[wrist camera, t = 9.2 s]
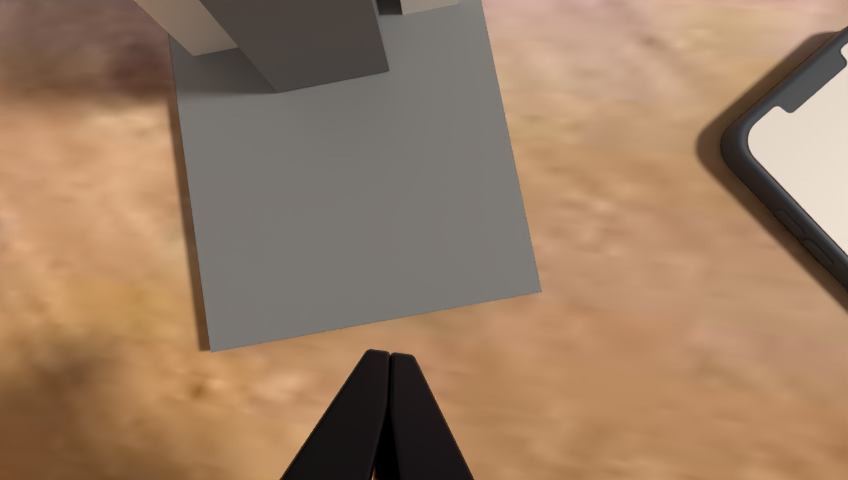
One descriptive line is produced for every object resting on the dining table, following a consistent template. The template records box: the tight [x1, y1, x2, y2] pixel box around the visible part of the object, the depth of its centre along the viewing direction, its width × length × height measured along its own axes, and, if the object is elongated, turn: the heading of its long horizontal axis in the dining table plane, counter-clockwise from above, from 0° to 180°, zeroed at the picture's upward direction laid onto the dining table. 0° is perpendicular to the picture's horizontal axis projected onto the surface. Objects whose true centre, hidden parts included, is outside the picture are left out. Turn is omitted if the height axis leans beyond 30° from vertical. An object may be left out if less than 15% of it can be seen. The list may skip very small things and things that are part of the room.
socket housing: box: [134, 0, 542, 352], centre depth 18 cm, size 19×14×9 cm
